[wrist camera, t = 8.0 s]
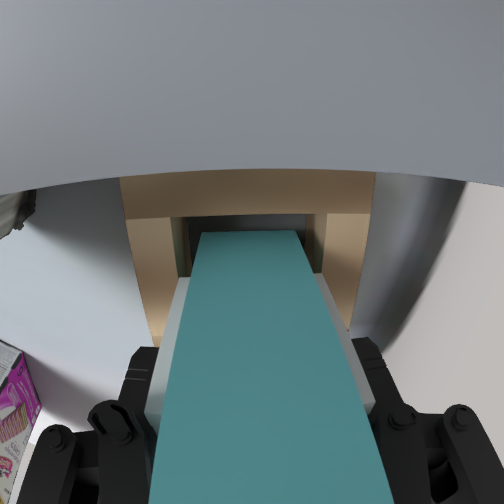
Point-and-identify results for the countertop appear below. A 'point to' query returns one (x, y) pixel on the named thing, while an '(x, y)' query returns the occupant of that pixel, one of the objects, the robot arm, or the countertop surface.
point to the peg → (261, 387)
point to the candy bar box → (14, 414)
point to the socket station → (249, 114)
